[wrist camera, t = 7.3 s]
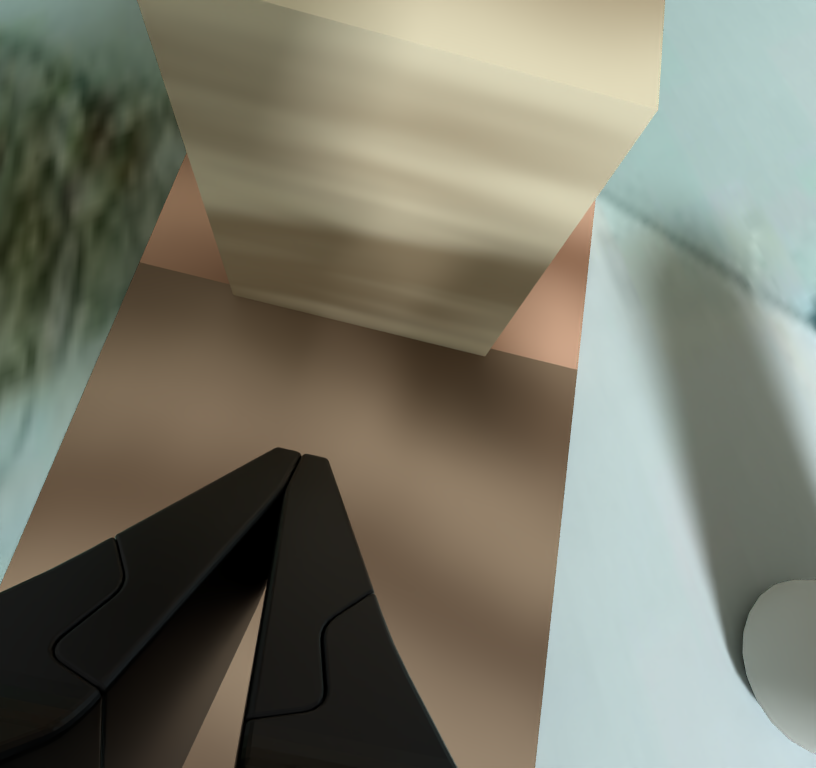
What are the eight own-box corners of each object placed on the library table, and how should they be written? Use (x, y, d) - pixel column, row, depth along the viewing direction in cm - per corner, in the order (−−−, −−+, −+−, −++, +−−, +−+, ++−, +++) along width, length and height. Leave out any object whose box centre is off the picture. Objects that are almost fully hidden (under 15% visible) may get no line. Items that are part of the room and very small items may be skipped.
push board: (498, 936, 14) (513, 967, 13) (-78, 830, 13) (-115, 852, 12) (589, 152, 23) (602, 130, 22) (243, 60, 22) (238, 31, 21)
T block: (485, 356, 18) (658, 109, 9) (233, 295, 17) (125, -37, 8) (525, 116, 21) (680, -247, 12) (316, 59, 21) (308, -364, 12)
